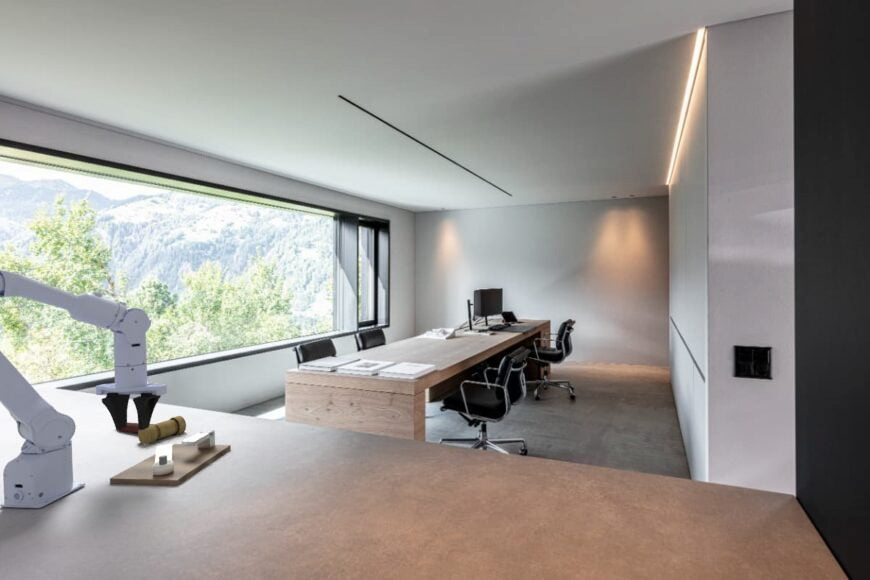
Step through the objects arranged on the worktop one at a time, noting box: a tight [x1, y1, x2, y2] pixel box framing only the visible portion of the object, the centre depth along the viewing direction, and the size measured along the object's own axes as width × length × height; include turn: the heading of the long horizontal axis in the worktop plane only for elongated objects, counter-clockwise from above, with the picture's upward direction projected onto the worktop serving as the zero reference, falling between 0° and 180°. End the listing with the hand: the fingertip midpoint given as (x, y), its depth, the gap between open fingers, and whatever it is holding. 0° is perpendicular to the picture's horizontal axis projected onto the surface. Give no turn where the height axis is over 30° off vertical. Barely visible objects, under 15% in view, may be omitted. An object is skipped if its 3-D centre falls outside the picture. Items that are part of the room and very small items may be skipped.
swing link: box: [153, 443, 174, 475], centre depth 97 cm, size 14×4×3 cm, turn 29°
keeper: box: [181, 429, 216, 449], centre depth 104 cm, size 8×3×4 cm, turn 174°
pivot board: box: [109, 443, 231, 486], centre depth 99 cm, size 19×14×1 cm
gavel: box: [119, 415, 187, 445], centre depth 120 cm, size 21×5×10 cm
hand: (132, 428), depth 97 cm, fingers open, 5 cm apart
